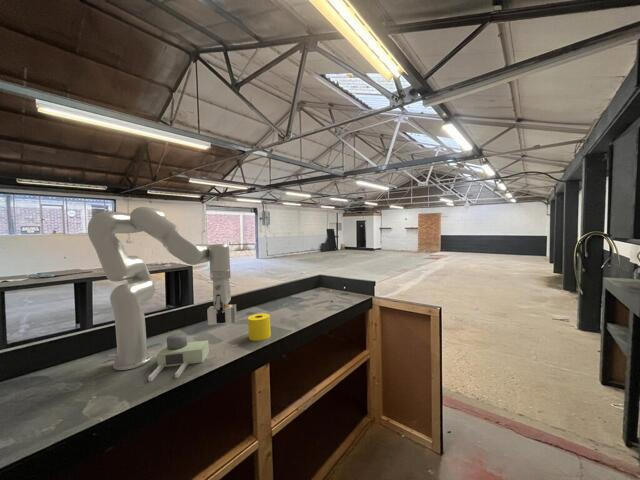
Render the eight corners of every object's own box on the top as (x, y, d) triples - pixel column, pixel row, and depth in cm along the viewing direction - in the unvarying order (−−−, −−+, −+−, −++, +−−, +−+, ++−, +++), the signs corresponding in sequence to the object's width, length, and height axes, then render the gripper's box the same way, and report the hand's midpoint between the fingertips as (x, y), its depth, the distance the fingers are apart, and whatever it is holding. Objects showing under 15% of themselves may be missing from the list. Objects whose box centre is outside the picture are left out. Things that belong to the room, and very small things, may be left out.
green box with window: (144, 381, 91) (142, 355, 90) (168, 356, 110) (167, 334, 110) (194, 375, 93) (192, 350, 93) (209, 351, 112) (207, 330, 112)
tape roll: (264, 341, 120) (263, 320, 120) (244, 340, 123) (243, 319, 123) (274, 333, 130) (273, 313, 129) (256, 332, 133) (255, 313, 132)
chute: (208, 325, 103) (207, 308, 103) (211, 321, 108) (210, 305, 108) (234, 322, 105) (233, 306, 105) (236, 318, 110) (236, 303, 110)
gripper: (225, 277, 98) (228, 327, 99) (234, 271, 115) (236, 313, 116) (204, 279, 97) (207, 328, 98) (215, 272, 114) (218, 315, 114)
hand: (222, 320), depth 107 cm, fingers closed on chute, 5 cm apart
